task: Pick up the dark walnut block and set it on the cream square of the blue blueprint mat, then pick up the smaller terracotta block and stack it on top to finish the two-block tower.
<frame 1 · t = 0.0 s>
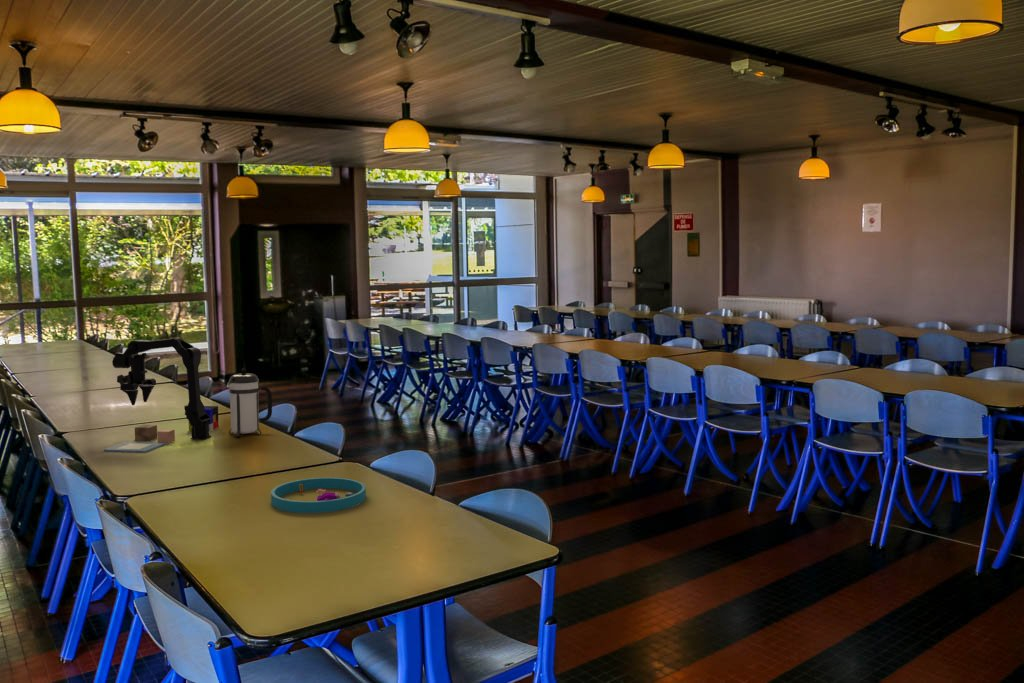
hand: (139, 403, 366), 15 cm above the table, tool pointing down, fingers open, 9 cm apart
terracotta block: (166, 442, 356), on the table
coffee press: (247, 434, 374), on the table
puzzle toy: (203, 429, 385), on the table
teal ring: (319, 501, 269), on the table
walnut block: (146, 439, 361), on the table
blueprint mat: (136, 447, 344), on the table
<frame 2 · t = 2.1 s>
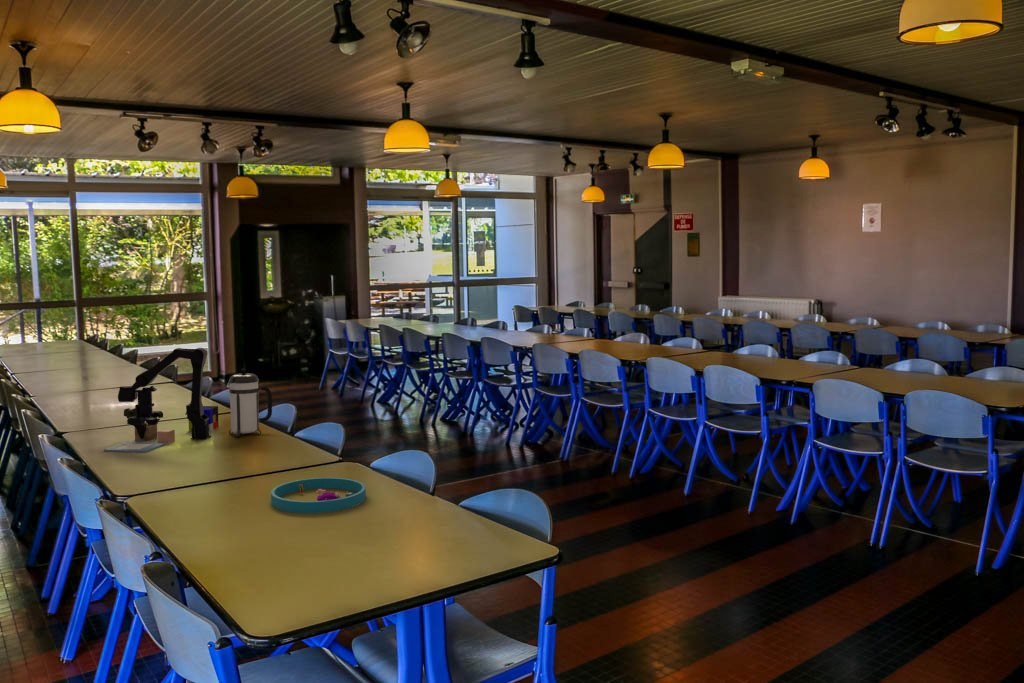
hand: (146, 437, 361), 1 cm above the table, tool pointing down, fingers closed on walnut block, 6 cm apart
walnut block: (146, 439, 361), on the table, touching gripper
everything else where it was.
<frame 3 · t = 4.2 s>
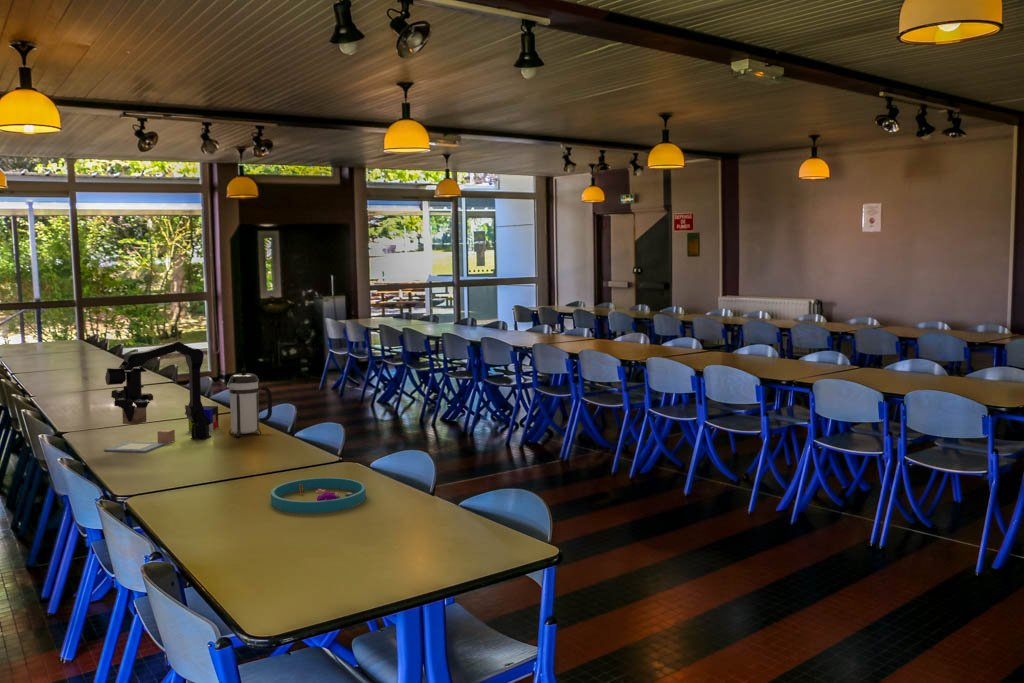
hand: (134, 420, 345), 11 cm above the table, tool pointing down, fingers closed on walnut block, 6 cm apart
walnut block: (134, 422, 345), point 10 cm above the table, touching gripper
everything else where it was.
when the fingers open (3 cm above the table, at t = 6.5 s): walnut block drops 1 cm, resting on blueprint mat.
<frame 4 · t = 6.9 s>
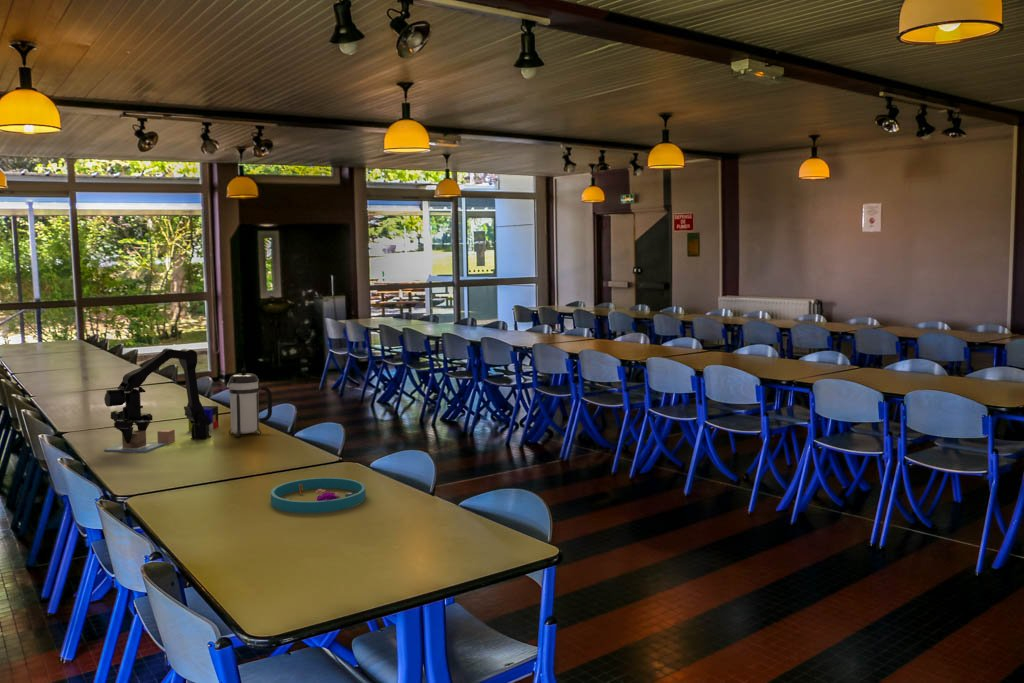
hand: (134, 441, 343), 3 cm above the table, tool pointing down, fingers open, 9 cm apart
walnut block: (134, 446, 343), point 1 cm above the table, touching blueprint mat
everything else where it was.
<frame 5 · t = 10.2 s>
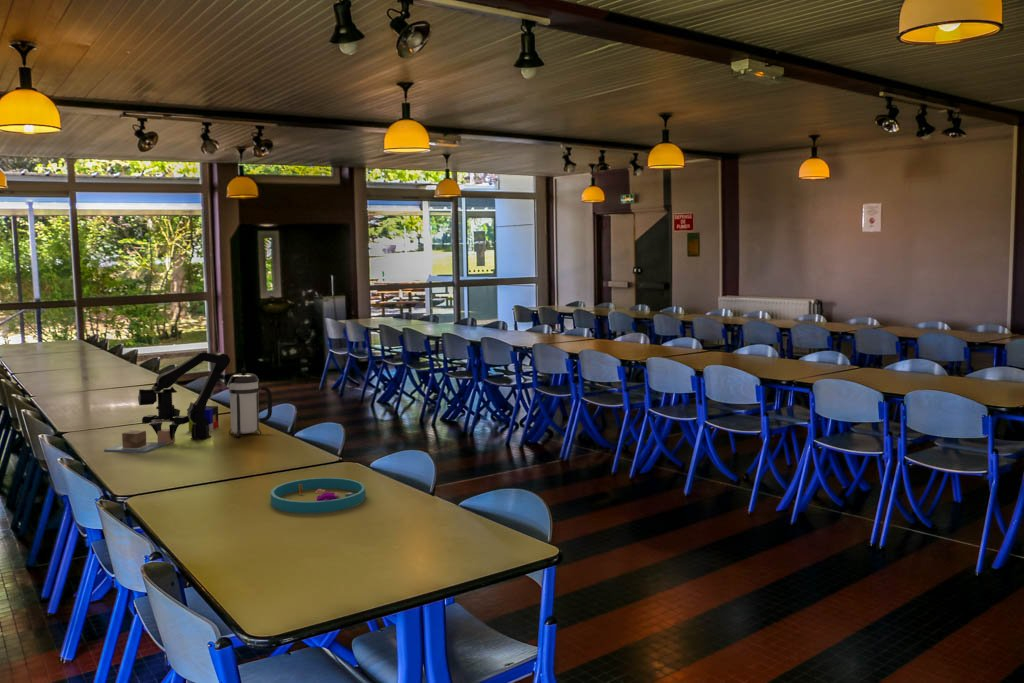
hand: (166, 439, 356), 1 cm above the table, tool pointing down, fingers closed on terracotta block, 5 cm apart
terracotta block: (166, 441, 356), on the table, touching gripper
everything else where it was.
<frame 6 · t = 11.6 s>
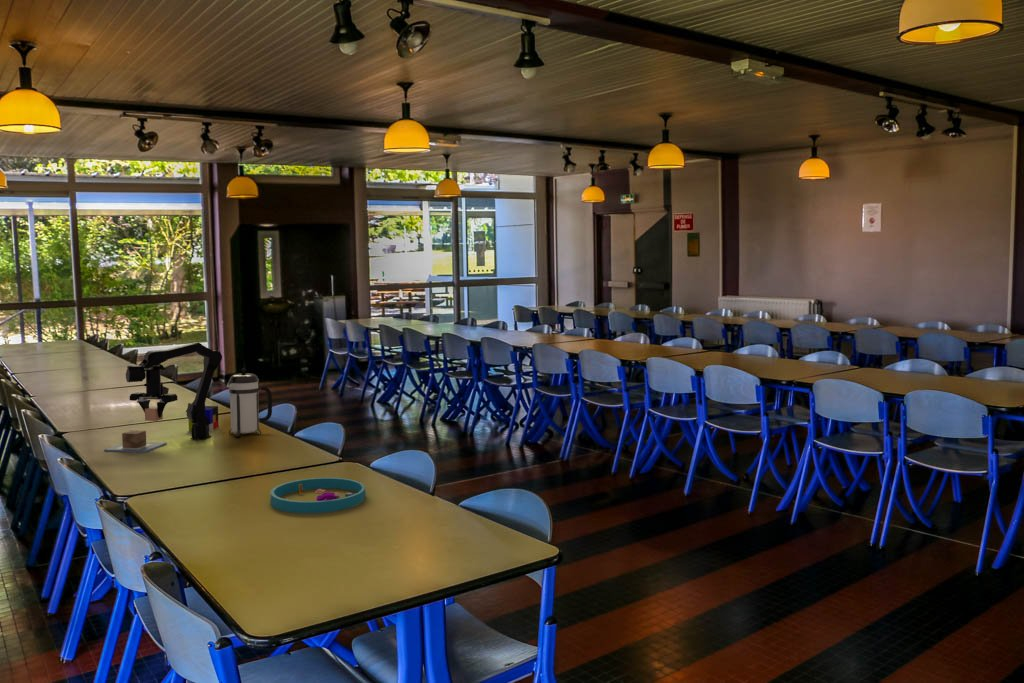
hand: (153, 417, 351), 11 cm above the table, tool pointing down, fingers closed on terracotta block, 5 cm apart
terracotta block: (153, 419, 351), point 10 cm above the table, touching gripper
everything else where it was.
when the fingers open (9 cm above the table, at t = 13.0 s): terracotta block drops 1 cm, resting on walnut block.
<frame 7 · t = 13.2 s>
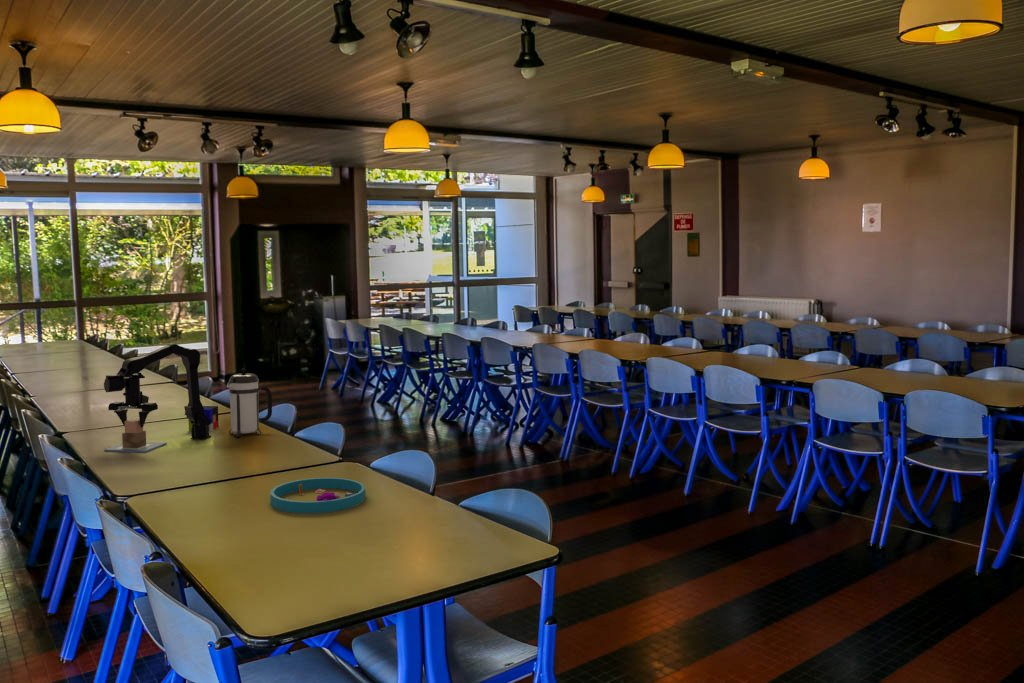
hand: (133, 427, 342), 9 cm above the table, tool pointing down, fingers open, 7 cm apart
terracotta block: (134, 432, 343), point 7 cm above the table, touching walnut block
walnut block: (134, 446, 343), point 1 cm above the table, touching blueprint mat, terracotta block
everything else where it was.
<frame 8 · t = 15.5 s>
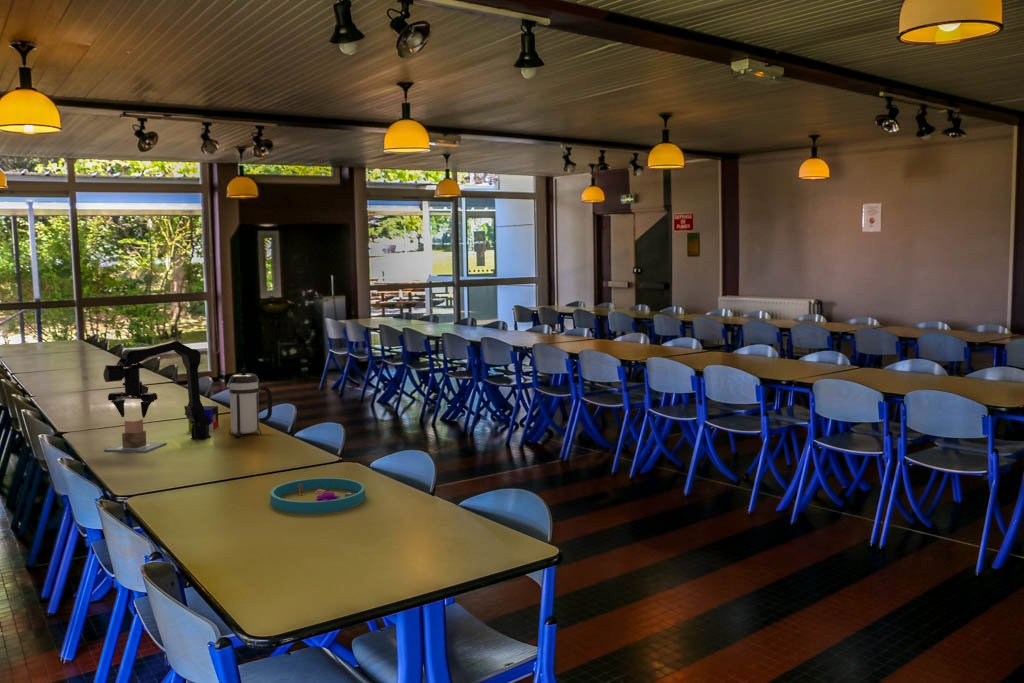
hand: (133, 417, 342), 13 cm above the table, tool pointing down, fingers open, 9 cm apart
nothing on the table moved.
at the end: walnut block 0.1 cm from the target spot on the blueprint mat, point 0.8 cm above the blueprint mat's base; terracotta block 0.1 cm off-centre on the walnut block, point 6.0 cm above the walnut block's base; terracotta block tilted 0° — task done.
